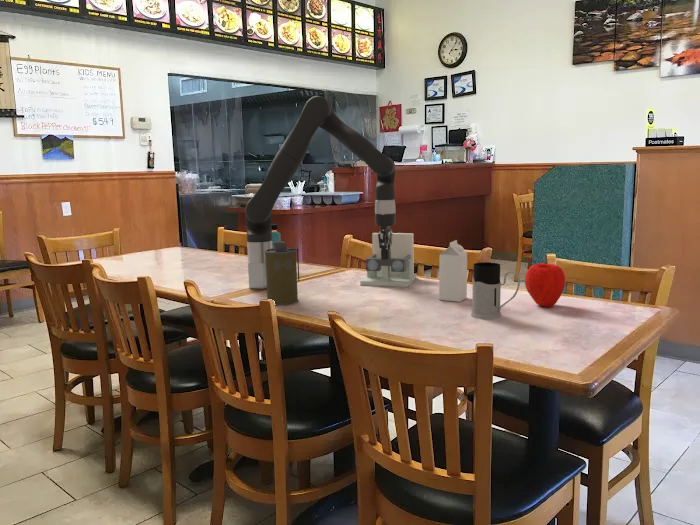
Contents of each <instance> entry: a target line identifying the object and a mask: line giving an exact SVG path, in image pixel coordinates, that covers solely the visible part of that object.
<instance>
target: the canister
mask: <svg viewBox="0 0 700 525" xmlns="http://www.w3.org/2000/svg"><path fill="white" fill-rule="evenodd" d="M272 244H273V245H274V248H272V249H267V250H265V251H264V252H265V263H266V283H267V288H266V300H267V299H272V300H274V301H275V304H276V305H275V306H276V307H277V305H284V306H290V304H291V305H294V303H295V304H298V302H299V301H300V300H299V297H298V296H299V294H298V293H299V292H298V281H300V263H299V249H298V248H297V247H287V244H286V242H285V241H283V240H281V241H280V242H272Z"/></svg>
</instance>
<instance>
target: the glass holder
mask: <svg viewBox="0 0 700 525" xmlns="http://www.w3.org/2000/svg"><path fill="white" fill-rule="evenodd" d="M472 269H473V271H472V297H471V298H472V299H471V300H472V306H471V307H472V310H471V313H470V316H471V317H472V318H475V319H479V320H497V319H500V318H502V312H501V308H502V307H504V306H505V305H506V304H508V303H510V302H511V301H512V300H513V299H514V298H515V297H516V295H517V294H518V291H519V288H520V284H521V278H520V276H519V274H518V273H517V272H516V271H513V270H511V271H508V272H506V273H505V274H504V278H503V283H502V282H501V264H500V263H498V262H490V261H489V262H482V261H481V262H476V263H475V262H474V263H473V267H472ZM511 273H513V274H514V275H516V277H517V288H516V290H515V292H514V294H513V295H512V296H511V298H509V299H508V300H507V301H505V302H504V303H503V304H502V305H501V287H502V286H504V285H505V284H506V283H507V282H506V281H507V276H508V275H509V274H511Z"/></svg>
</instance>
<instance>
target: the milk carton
mask: <svg viewBox="0 0 700 525" xmlns="http://www.w3.org/2000/svg"><path fill="white" fill-rule="evenodd" d="M438 260H439V262H438V264H439V269H438V270H439V271H438V272H439V277H438V278H439V279H438V280H439V282H438V284H439V286H438V288H439V290H438V291H439V293H438V294H439V296H438V297H439V300H440V301H446V302H447V301H449V302H458V303H459V302H460V303H461V302H462V301H464V300H465V299H467V297H468V292H467V291H468V252H467V251H466V250H465V248H464V247H463V246H462V245H461V244H459V243H458V240H457V239H455V240H453V241H450V242H449V246H448V247H447V248H445V249H444V251H442V252H440V253H439V259H438Z"/></svg>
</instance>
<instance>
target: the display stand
mask: <svg viewBox="0 0 700 525" xmlns="http://www.w3.org/2000/svg"><path fill="white" fill-rule="evenodd" d="M378 233H379V232H372V234H371V237H372V239H371V242H372V246H371V248H372V255H373V254H376V258H381V248H379V239H378ZM414 239H415V238H414V233H411V232H409V233H407V232H404V233H403V232H396V233H395V232H392V245H391V247H389V248H390V249H391V258H404V257H406V256H407V255H410V259H408V260H407V261H406V271H405V272H391V266H381V270H380V271H366V276H365V277H364V278H363V279H361V280H360V281H359V284H360V286H371V287H375V286H376V287H377V286H378V287H379V286H380V287H401V288H402V287H403V288H405V287H406V288H408V287H410V285H411V284H412V283H413V282H414V281H415V280H416V279H417V273H414V272H415V271H414V269H415V268H414V266H415V263H414V261H415V260H414V256H415V255H414V250H415V249H414V248H415V247H414V246H415V245H414ZM383 245H384V243H383ZM415 278H416V279H415ZM414 279H415V280H414Z"/></svg>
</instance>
